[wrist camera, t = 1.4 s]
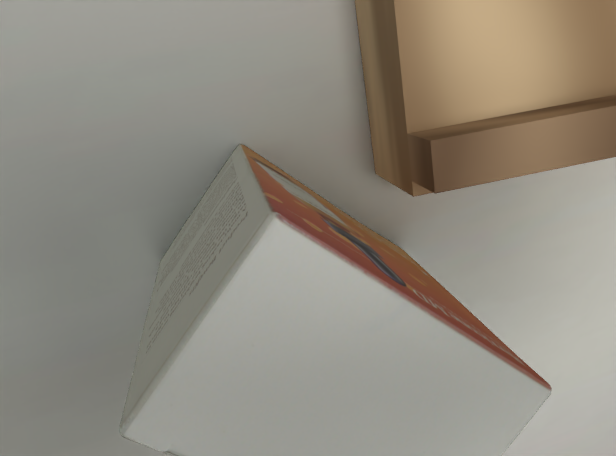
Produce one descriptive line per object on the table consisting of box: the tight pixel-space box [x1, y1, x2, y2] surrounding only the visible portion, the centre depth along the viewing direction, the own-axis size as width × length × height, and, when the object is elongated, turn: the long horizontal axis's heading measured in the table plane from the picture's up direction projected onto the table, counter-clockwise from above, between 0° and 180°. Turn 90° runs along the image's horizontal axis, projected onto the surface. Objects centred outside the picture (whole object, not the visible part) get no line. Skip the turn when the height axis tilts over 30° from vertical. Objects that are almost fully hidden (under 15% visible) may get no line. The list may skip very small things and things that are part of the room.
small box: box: [119, 144, 552, 456], centre depth 17 cm, size 8×6×10 cm
